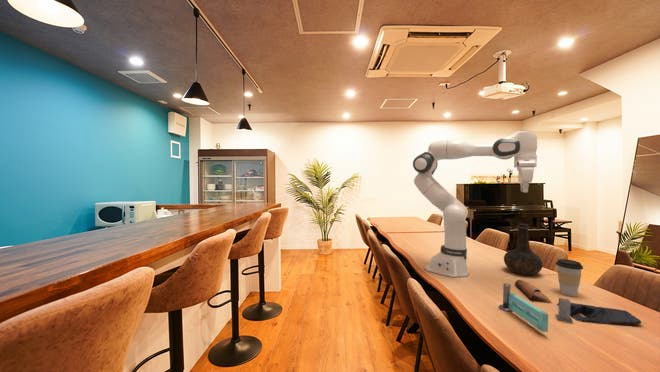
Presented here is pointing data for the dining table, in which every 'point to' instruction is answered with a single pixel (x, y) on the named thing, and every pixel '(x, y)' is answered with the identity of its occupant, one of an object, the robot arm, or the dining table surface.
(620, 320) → the dark slate chunk
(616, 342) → the dining table surface
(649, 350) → the dining table surface
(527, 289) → the sunglasses case
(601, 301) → the dining table surface
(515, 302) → the gate
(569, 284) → the coffee cup
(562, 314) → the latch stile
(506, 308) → the hinge post
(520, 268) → the dark brown vase
